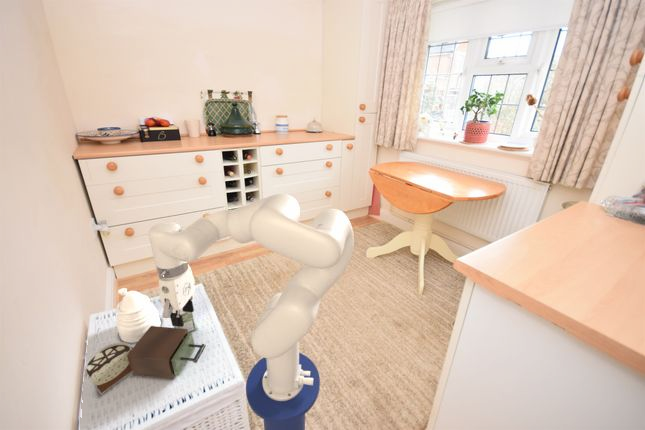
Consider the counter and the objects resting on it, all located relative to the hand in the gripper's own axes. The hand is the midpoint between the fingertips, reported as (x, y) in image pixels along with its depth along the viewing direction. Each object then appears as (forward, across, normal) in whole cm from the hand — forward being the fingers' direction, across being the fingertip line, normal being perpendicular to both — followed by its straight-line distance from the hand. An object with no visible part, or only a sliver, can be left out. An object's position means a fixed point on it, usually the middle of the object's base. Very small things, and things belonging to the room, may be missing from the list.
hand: (183, 317), depth 86 cm
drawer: (+19, 0, +5) cm, 19 cm away
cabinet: (+19, 0, +10) cm, 22 cm away
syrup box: (+20, +14, +10) cm, 26 cm away
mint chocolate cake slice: (+20, -7, +22) cm, 30 cm away
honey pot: (+20, +12, +26) cm, 35 cm away
